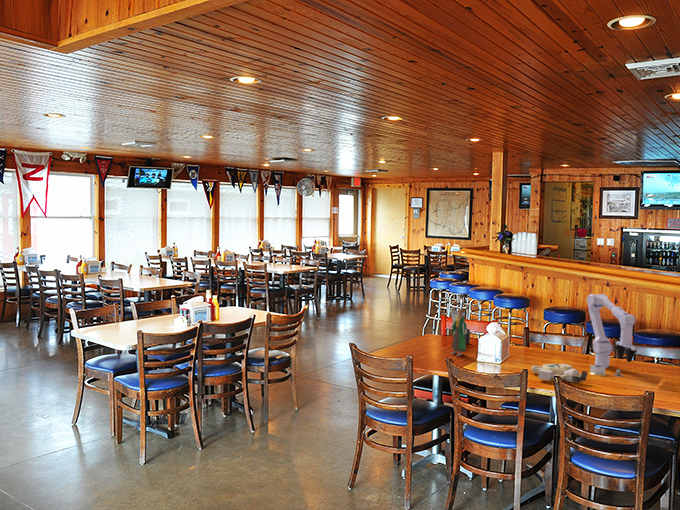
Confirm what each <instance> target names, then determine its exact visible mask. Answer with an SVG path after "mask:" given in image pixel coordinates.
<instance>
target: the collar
mask: <svg viewBox="0 0 680 510" xmlns="http://www.w3.org/2000/svg"><path fill="white" fill-rule="evenodd" d="M589 372H591V373H593V374H596V375H595V376H597V375H601V374H605V373H606V368H605V367H603V366H601V365H595V364H590V371H589Z"/></svg>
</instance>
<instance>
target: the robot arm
mask: <svg viewBox="0 0 680 510" xmlns="http://www.w3.org/2000/svg"><path fill="white" fill-rule="evenodd" d="M586 303H587V304H586V305H587V307H588V314H589V316H590V317H589V318H590V320H591V321H590V322H591V324H592V330H593V332H594V337H595V339H593V341H592V349H593V352H594V354H595V358H594V359H595V361H594V365H601V366H603V367H605V369H608V368H609V367H610V359H611V358H610V355H611V353H612V352H613V349H614V348H615V349H616V352H617V357H618V360H619V359H624V354H625V353H626V362H627V363H631V362H632V361H633V358H634V356H635V355H636V353H637V346H635V345H633V343H632V342H633V331H634V330H633V328H634V327H633V325H635V324H636V316H635V315H633V314H630V313H628V312H627V311H625V310H624V308H623V307H622V306H616V305H615V304H614V303H613V302H612V301H611V300H610V299H609V297H608V296H607V295H606V294H605V293H600V294H599V293H598V294H593V293H591V294H588V295H587V298H586ZM603 307H605V308H607V309H608V310H610V311H611V314H612V315H613V316H614V317H615V318H616V319H618V323H619V324H620V326H619V327H620V340H616V343H615V346H614V348H613V345H612V343H611V340H610V339H609V338H608V337H607V336H606V333H605V329H604V325H603V321H602V318H601V314H600V310H601V309H602V308H603Z"/></svg>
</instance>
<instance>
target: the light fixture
mask: <svg viewBox="0 0 680 510" xmlns="http://www.w3.org/2000/svg"><path fill="white" fill-rule="evenodd" d="M457 311H458V310H450V312H449V314H450V318H451V320H452V325H453V324H454V322H455V321H456V317H457ZM462 313H464V312H462ZM462 317H463V318H464V320H465V321H466V319H465V315H464V314H463V316H462ZM454 333H455V331H454V332H453V338H454ZM463 333H464V339H465V345H467V344H470V343H471V342H470V340H471V329H469V328H467V334H466V337H465V328H464V323H463ZM453 338H452V339H453Z"/></svg>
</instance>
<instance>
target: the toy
mask: <svg viewBox="0 0 680 510" xmlns="http://www.w3.org/2000/svg"><path fill="white" fill-rule="evenodd" d="M531 371H532V372H533V373H535V374H537V375H538V378H537V379H539V380H544V381H554V380H553V377H554V376H560V377H561V378H562V379H563V380H562V381H564V380H565V381H566V382H569V383H575V382H578V383H582V381H586V379H587V376H588V373H587V371H585V370H582V371H581V372H582V373H580V371H578V370H577V369H575V368H573V365H569V364H566V363H548V364H547V363H544V364H542V365H532V366H531Z"/></svg>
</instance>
